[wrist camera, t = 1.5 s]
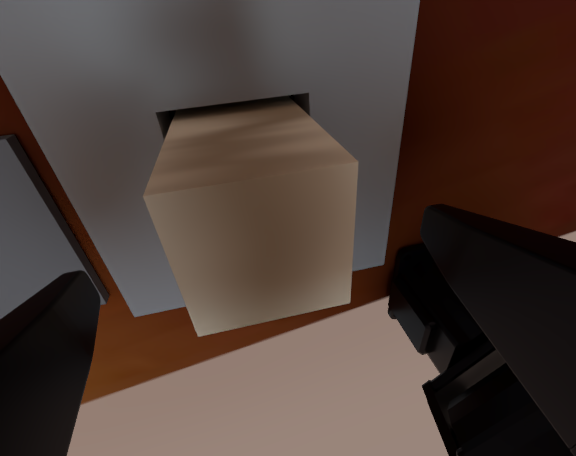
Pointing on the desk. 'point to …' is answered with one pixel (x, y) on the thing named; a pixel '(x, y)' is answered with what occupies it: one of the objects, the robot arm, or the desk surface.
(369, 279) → the desk surface
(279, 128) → the cream block
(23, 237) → the dark gray panel
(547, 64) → the desk surface
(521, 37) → the desk surface
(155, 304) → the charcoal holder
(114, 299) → the desk surface
